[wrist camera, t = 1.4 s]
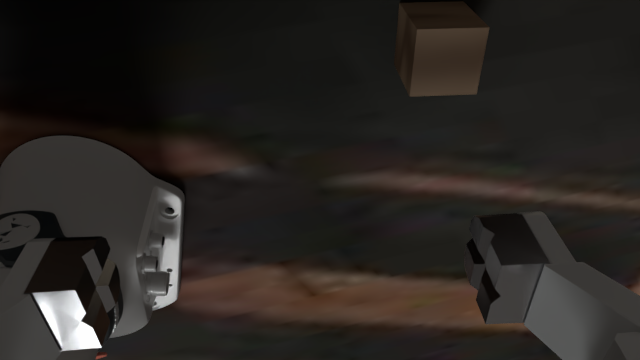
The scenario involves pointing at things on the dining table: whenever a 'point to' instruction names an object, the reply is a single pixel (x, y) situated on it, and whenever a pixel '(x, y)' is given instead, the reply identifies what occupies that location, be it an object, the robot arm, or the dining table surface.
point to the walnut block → (439, 48)
